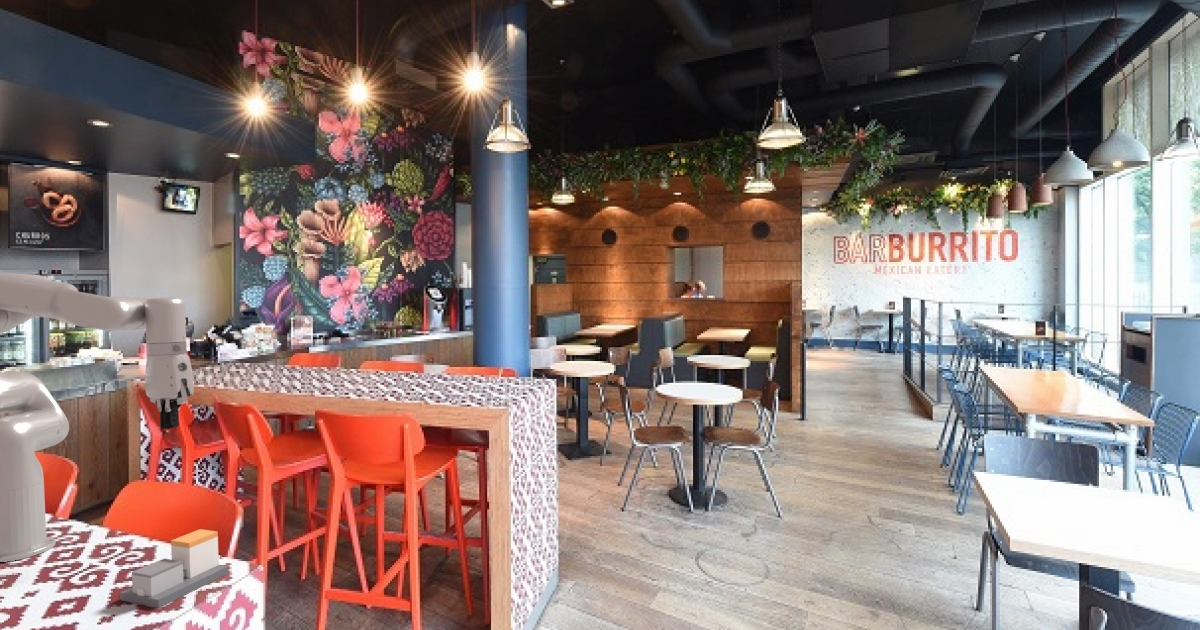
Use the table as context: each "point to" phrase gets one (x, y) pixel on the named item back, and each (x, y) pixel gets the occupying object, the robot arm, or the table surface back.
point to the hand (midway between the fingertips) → (169, 427)
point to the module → (196, 551)
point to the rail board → (176, 589)
